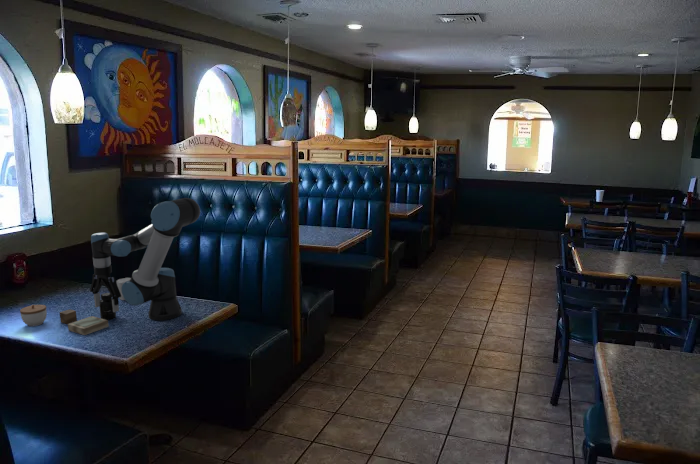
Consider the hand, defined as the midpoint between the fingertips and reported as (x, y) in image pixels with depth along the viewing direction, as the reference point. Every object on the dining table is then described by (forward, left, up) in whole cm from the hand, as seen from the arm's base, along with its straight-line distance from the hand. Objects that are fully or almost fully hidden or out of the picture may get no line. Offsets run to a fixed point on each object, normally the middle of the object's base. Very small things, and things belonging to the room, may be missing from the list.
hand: (107, 309), depth 266 cm
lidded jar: (+24, +22, -5) cm, 32 cm away
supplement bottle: (0, 0, -5) cm, 5 cm away
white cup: (+19, -24, -5) cm, 31 cm away
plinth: (-4, +13, -5) cm, 14 cm away
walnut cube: (+13, +12, -5) cm, 18 cm away
